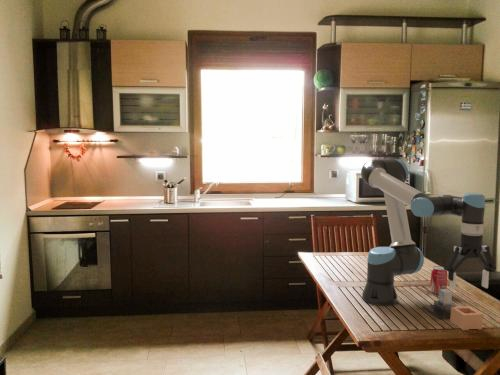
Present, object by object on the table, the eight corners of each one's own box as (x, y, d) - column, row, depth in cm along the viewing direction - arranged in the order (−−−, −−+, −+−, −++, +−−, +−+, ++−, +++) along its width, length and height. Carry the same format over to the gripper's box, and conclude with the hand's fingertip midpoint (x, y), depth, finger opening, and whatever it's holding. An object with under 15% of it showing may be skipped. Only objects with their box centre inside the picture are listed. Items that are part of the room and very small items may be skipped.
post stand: (438, 318, 177) (440, 296, 176) (423, 307, 189) (424, 286, 188) (466, 317, 179) (467, 295, 178) (449, 306, 191) (450, 285, 190)
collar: (462, 330, 167) (463, 315, 166) (450, 321, 175) (451, 307, 174) (481, 329, 168) (482, 314, 167) (468, 320, 176) (469, 306, 175)
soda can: (433, 288, 213) (435, 264, 212) (448, 292, 208) (450, 268, 207) (427, 292, 208) (428, 267, 207) (442, 296, 203) (444, 271, 202)
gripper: (447, 236, 162) (444, 292, 164) (508, 235, 165) (504, 289, 167) (435, 232, 169) (433, 285, 171) (494, 231, 173) (491, 283, 175)
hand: (468, 287), depth 169 cm, fingers open, 13 cm apart
